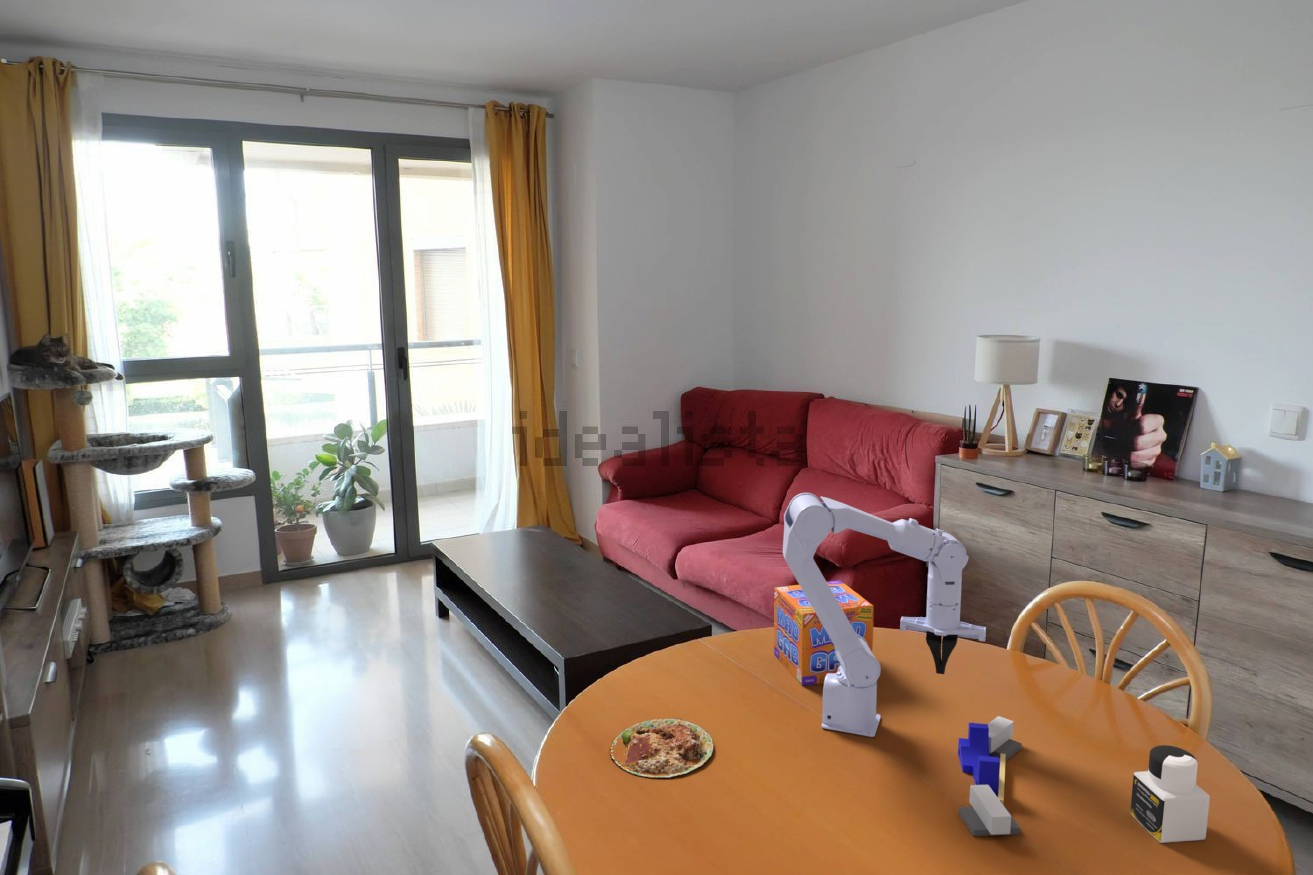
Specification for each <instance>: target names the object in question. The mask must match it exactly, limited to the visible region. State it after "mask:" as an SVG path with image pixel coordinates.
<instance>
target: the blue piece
mask: <svg viewBox="0 0 1313 875" xmlns="http://www.w3.org/2000/svg"><path fill="white" fill-rule="evenodd" d="M967 732H968V733H967V738H964V737H963V738H962V737H959V738H958V744H957V745H958V747H957V755H958V758H959V759H958V760H959V763H960V767H961V770H962V773H969V774H972V778H973V782H974V785H989V786H990V788H991V789H992V791H993V792H994V793H995V795H996V796H997V797H998V791H999V772H1000V759H999V758H998V757H995V756H991V755H990V754H989V727H988V723H981V722H980V723H979V722H968V731H967Z"/></svg>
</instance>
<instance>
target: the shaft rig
mask: <svg viewBox="0 0 1313 875" xmlns="http://www.w3.org/2000/svg"><path fill="white" fill-rule="evenodd" d="M987 724H988V727H989V754H990V756H991V757H998V758H999V761H1000V770H999V786H998V796H996V795H995V793H994V792H993V791H992V789H991V788H990V786H989V785H975V784H973V785H972V784H971V785H970V786H969V801H968V802H969V804H970V805H971V806H959V807H958V814H959V816H960V818H961V819H962V822H963V823H964V824H965V826H966V827H967V829H968V830H969V832H970V834H971V835H972V836H973V837H984V836H985V837H986V836H989V837H990V836H1006V835H1007V836H1009V835H1010V836H1011V835H1012V836H1013V835H1021V826H1020V825H1019V824H1018V822H1017V821H1016V820H1015V818H1014V817H1013V816H1012V814H1011V812H1010V811H1009V810H1008V809H1007V807H1006V806H1005V804H1004V799H1005V781H1006V780H1005V779H1006V778H1005V777H1006V762H1007V761H1008V760H1009V759H1011V758H1012V757H1013V756H1014V755H1015V754H1017V753H1018V752H1019V751H1020V750H1022V743H1021V742H1019V741H1016V740H1013V739H1012V738H1013V737H1014V727H1015V726H1014V724H1015V721H1014V720H1011V719H1008V718H1005V717H1002V716H1000V715H997V716H996V717H995V718H994V719H992V720H991V721H989V722H988V723H987ZM1016 752H1017V753H1016Z"/></svg>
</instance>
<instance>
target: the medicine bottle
mask: <svg viewBox="0 0 1313 875" xmlns="http://www.w3.org/2000/svg"><path fill="white" fill-rule="evenodd" d="M1148 758H1149V759H1148V766H1147V767H1148V768H1147V770H1145V771H1136V772H1133V777H1132V788H1131V797H1130V798H1131V799H1130V812H1129V814H1130V815H1131V816H1132V817H1133V819H1135V821H1137V823H1139V824H1140V825H1141V826H1142V827H1143V829H1145V830H1146V831H1147V832H1148V833H1149V834H1150V835H1151V836H1152V837H1153V838H1154V839H1155V840H1156V841H1158V843H1160V844H1165V843H1166V844H1167V843H1180V842H1192V841H1193V842H1194V841H1203V840H1206V837H1207V829H1208V828H1207V827H1208V820H1209V811H1210V800H1211V796H1210V795H1209V794H1208V793H1207V792H1206V791H1205V790H1203V789H1202V788H1201V787H1199V785H1198V784H1197V776H1198V767H1199V766H1198V765H1199V761H1198V760H1197V758H1196V757H1195V756H1194V754H1192V753H1191V752H1189V751H1188V750H1186V749H1183V748H1180V747H1178V746H1174V745H1169V744H1168V745H1165V744H1163V745H1162V744H1161V745H1155V746H1154V747H1152V748H1151V749H1150V750H1149V757H1148Z"/></svg>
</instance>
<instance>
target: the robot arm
mask: <svg viewBox="0 0 1313 875" xmlns="http://www.w3.org/2000/svg"><path fill="white" fill-rule="evenodd" d="M821 500H822V501H821ZM783 523H784V524H783V525H784V526H783V527H784V528H783V542H782V555H783V558H784V560H785V562H786V564H787V566H788V568H789V569H790V571H791V572H792V574H793V576H794V578H795V580H796V581H797V583H798V585H800V587H801V588H802V590H803V592H804V594H805V595H806V597H807V599H808V600H809V602H810V604H811V606H812V607H813V609H814V611H815V613H816V614H817V616H818V618H819V619H820V621H821V623H822V625H823V626H824V628H825V630H826V632H827V633H828V635H829V637H830V638H831V640H832V642H833V644H834V646H835V655H836V658H837V659H838V661H839V662H840V666H839V668H838V671H837V673H828V674H827V675H826V677H825V681H824V683H823V688H822V712H821V713H822V718H821V719H822V720H821V721H822V723H821V728H822V729H824V730H825V729H827V730H831V731H837V732H841V733H849V734H854V735H858V736H864V737H870V738H873V737H874V738H875V736H876V733H877V730H878V727H879V724H880V720H881V717H882V716H881V714H879V713H877V697H878V696H877V691H878V679H879V678H880V676H881V673H882V672H881V670H882V669H881V663H880V662H879V660H878V659H877V658H876V657H875V655H874V653H873V651H872V652H871V650H870V648H869V646H868V643H867V642H866V640H865V639H864V638H863V637H861V636H860V635H858V634H857V633H856V632H855V631H854V629H853V627H852V626H851V624H850V622H849V620H848V619H847V617H846V615H845V613H844V612H843V610H842V608H841V606H840V605H839V603H838V601H837V599H836V598H835V596H834V594H833V592H832V591H831V589H830V587H829V585H828V584H827V582H828V581H827V580H826V579H825V577H824V575H823V573H822V571H821V570H820V568H819V567H818V565H817V563H816V561H815V559H814V556H815V555H816V554H815V553H816V551H817V549H818V547H819V546H820V544H821V543H822V542H824V540H825V539H826V538H827V537H828V535H829V534H830V532H832V533H833V534H834V535H836V534H839V533H841V532H842V531H844V530H846V529H849V530H852V531H856V532H859V533H862V534H865V535H869V536H872V537H875V538H878V539H881V540H884V541H887V543H888V546H889V548H890V549H891V550H892V551H895V552H898V553H900V554H902V555H903V554H904V555H906V556H908V557H912V558H915V559H917V560H920V561H923V562H928V571H927V572H928V573H927V588H926V589H927V593H926V616H925V617H923V616H920V617H919V616H918V617H916V616H914V617H913V616H911V617H910V616H901V618H900V625H899V630H900V631H904V632H906V631H907V630H908V631H914V632H921V633H926V634H925V641H926V644H927V646H928V647H929V650H930V652H931V655H932V658H933V661H934V666H935V673H936V674H939V675H945V672H946V666H947V663H948V660H949V658H950V657H951V655H952V652H953V651H954V649H955V648H956V646H957V643H958V638H960V637H961V638H967V639H975V640H976V639H977V640H978V641H979V642H986V633H987V632H986V631H987V627H986V626H981V625H976V624H975V625H974V624H970V623H967V622H964V621H960V620H961V602H962V601H961V600H962V581H963V575H962V574H963V569H964V568H965V567H966V565H967V564H968V561H969V558H970V557H969V555H968V554H967V549H966V547H965V546H964V544H962V542H960V541H959V540H958V539H957V538H956V537H955V536H953V535H952V534H951V533H948V532H947V531H946V530H942V529H940V528H935V529H931V528H928V527H926V526H924V525H921V524H919V521H917V519H914V518H911V517H910V518H909V519H908V520H907V519H903V518H901V519H899V520H896V521H894V522H891V521H889V520H886V519H884V518H881V517H878V516H876V515H874V514H871V513H868V512H865V511H863V510H861V509H859V508H856V507H854V506H851V505H849V504H846V503H844V502H840V501H838V500H836V499H832V498H829V497H825V496H820V498H819V497H818V496H817V495H815V494H814V493H811V492H801V493H798V494H796V495H795V496H794V497H792V499H791V500H790V502H789V504H788V506H787V507H786V510H785V512H784V514H783Z"/></svg>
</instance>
